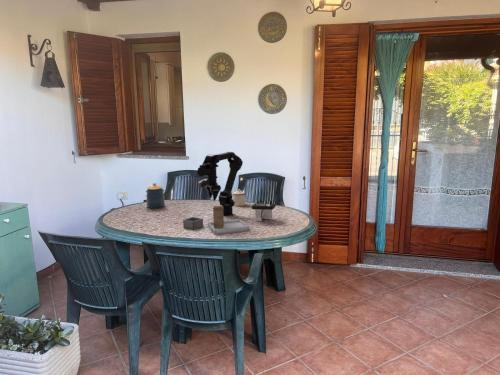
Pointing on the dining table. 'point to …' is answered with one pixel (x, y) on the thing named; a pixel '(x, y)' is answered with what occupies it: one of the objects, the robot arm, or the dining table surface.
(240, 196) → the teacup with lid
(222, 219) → the walnut block
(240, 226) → the plastic tray
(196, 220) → the charcoal open-top box
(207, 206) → the dining table surface
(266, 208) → the black-topped pedestal
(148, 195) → the canister
